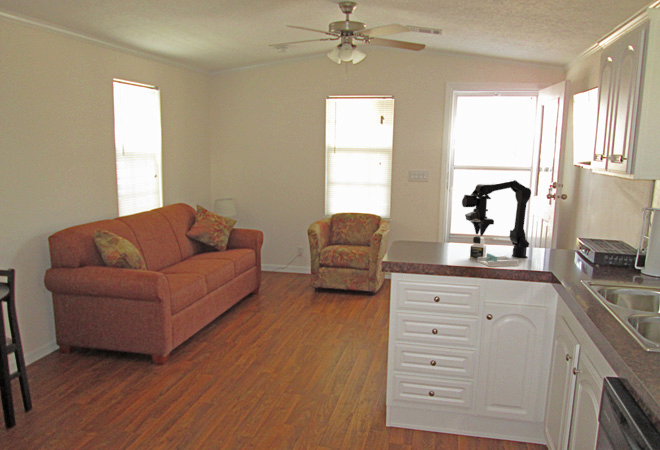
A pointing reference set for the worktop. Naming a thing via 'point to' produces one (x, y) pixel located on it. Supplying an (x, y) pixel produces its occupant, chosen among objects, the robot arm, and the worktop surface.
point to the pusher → (489, 257)
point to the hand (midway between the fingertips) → (479, 235)
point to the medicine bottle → (478, 248)
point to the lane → (499, 261)
